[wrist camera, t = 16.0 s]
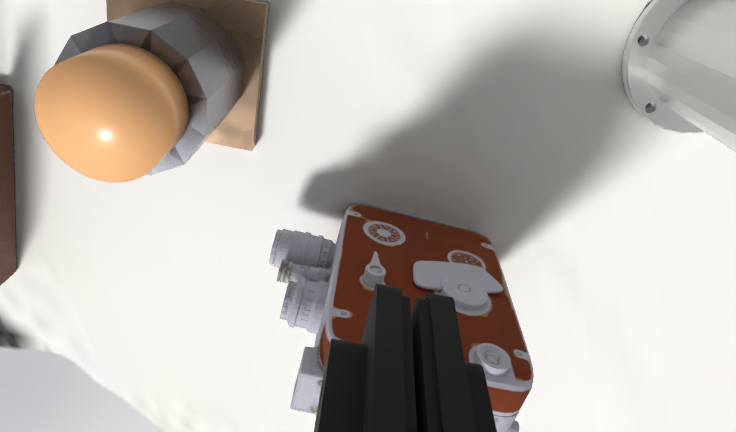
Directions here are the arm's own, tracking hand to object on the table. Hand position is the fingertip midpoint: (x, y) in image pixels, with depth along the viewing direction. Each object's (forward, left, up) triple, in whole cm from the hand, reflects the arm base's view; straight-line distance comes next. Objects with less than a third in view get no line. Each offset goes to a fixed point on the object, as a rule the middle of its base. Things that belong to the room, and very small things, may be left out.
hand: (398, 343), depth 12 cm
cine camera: (-3, +18, -35) cm, 40 cm away
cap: (+16, +5, -27) cm, 32 cm away
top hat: (+16, +5, -35) cm, 39 cm away
